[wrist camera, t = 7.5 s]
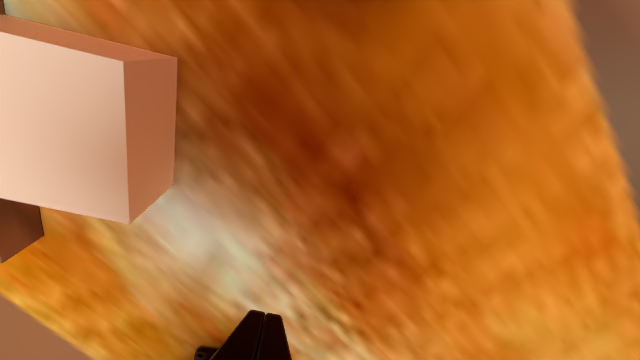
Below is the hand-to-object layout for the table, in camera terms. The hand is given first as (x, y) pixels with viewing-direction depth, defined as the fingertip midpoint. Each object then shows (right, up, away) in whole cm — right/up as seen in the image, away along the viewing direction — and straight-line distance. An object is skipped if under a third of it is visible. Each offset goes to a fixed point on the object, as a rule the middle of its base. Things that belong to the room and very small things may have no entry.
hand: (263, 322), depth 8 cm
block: (-12, +8, +10) cm, 17 cm away
